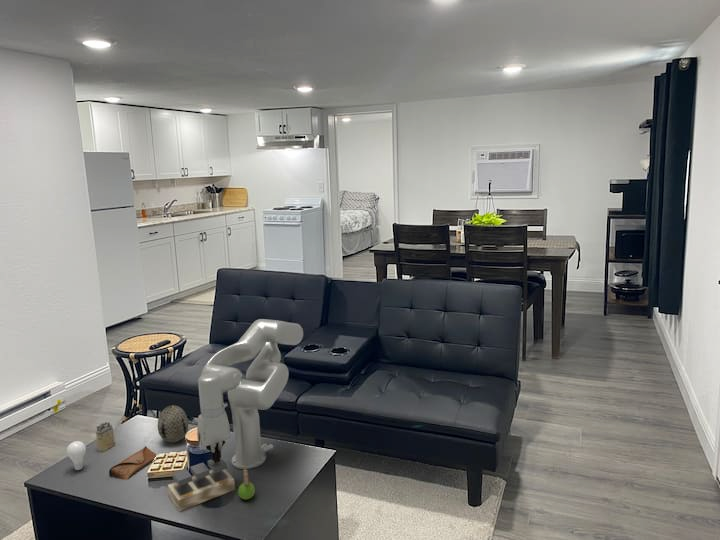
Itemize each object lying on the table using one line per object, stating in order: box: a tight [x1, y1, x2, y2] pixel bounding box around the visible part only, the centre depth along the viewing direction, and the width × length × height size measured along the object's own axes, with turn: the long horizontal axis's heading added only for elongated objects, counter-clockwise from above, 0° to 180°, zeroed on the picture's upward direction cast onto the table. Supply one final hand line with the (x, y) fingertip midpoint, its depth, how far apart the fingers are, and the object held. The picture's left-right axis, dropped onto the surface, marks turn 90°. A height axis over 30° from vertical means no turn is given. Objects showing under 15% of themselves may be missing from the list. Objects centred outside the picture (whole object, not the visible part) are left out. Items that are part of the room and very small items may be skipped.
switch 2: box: [206, 457, 228, 473], centre depth 191 cm, size 4×6×3 cm
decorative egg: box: [157, 404, 189, 443], centre depth 223 cm, size 12×12×15 cm
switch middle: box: [190, 462, 211, 479], centre depth 187 cm, size 4×6×3 cm
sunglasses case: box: [108, 445, 157, 481], centre depth 207 cm, size 18×7×7 cm, turn 157°
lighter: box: [95, 421, 116, 452], centre depth 220 cm, size 7×4×10 cm, turn 156°
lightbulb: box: [66, 440, 87, 471], centre depth 204 cm, size 6×6×11 cm
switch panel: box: [167, 469, 236, 512], centre depth 188 cm, size 19×11×4 cm, turn 126°
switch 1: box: [172, 468, 193, 486], centre depth 184 cm, size 4×6×3 cm
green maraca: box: [237, 468, 256, 500], centre depth 183 cm, size 5×6×12 cm
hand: (216, 460), depth 190 cm, fingers closed
